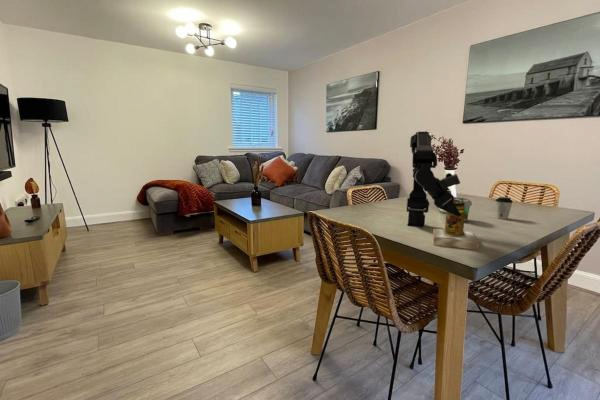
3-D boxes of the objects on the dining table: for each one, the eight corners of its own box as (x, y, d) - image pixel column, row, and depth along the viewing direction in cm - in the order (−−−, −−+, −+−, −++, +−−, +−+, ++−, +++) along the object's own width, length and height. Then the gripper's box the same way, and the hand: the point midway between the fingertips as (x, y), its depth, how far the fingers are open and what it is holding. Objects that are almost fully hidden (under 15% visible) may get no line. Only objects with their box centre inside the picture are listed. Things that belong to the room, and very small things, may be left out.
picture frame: (433, 244, 106) (434, 236, 106) (432, 235, 117) (433, 228, 117) (478, 249, 101) (479, 241, 100) (473, 239, 112) (474, 231, 111)
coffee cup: (502, 220, 138) (505, 199, 136) (489, 217, 145) (492, 197, 143) (514, 219, 140) (517, 199, 138) (501, 216, 146) (503, 196, 144)
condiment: (444, 235, 107) (447, 203, 105) (441, 229, 115) (444, 199, 112) (466, 237, 104) (470, 204, 102) (462, 231, 112) (465, 200, 110)
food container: (475, 223, 134) (478, 201, 132) (462, 223, 134) (464, 201, 132) (461, 216, 146) (463, 196, 144) (449, 216, 146) (450, 196, 144)
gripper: (448, 168, 97) (483, 203, 95) (444, 164, 114) (474, 194, 112) (420, 190, 102) (453, 224, 99) (421, 183, 119) (449, 212, 116)
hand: (458, 213), depth 107 cm, fingers open, 9 cm apart
